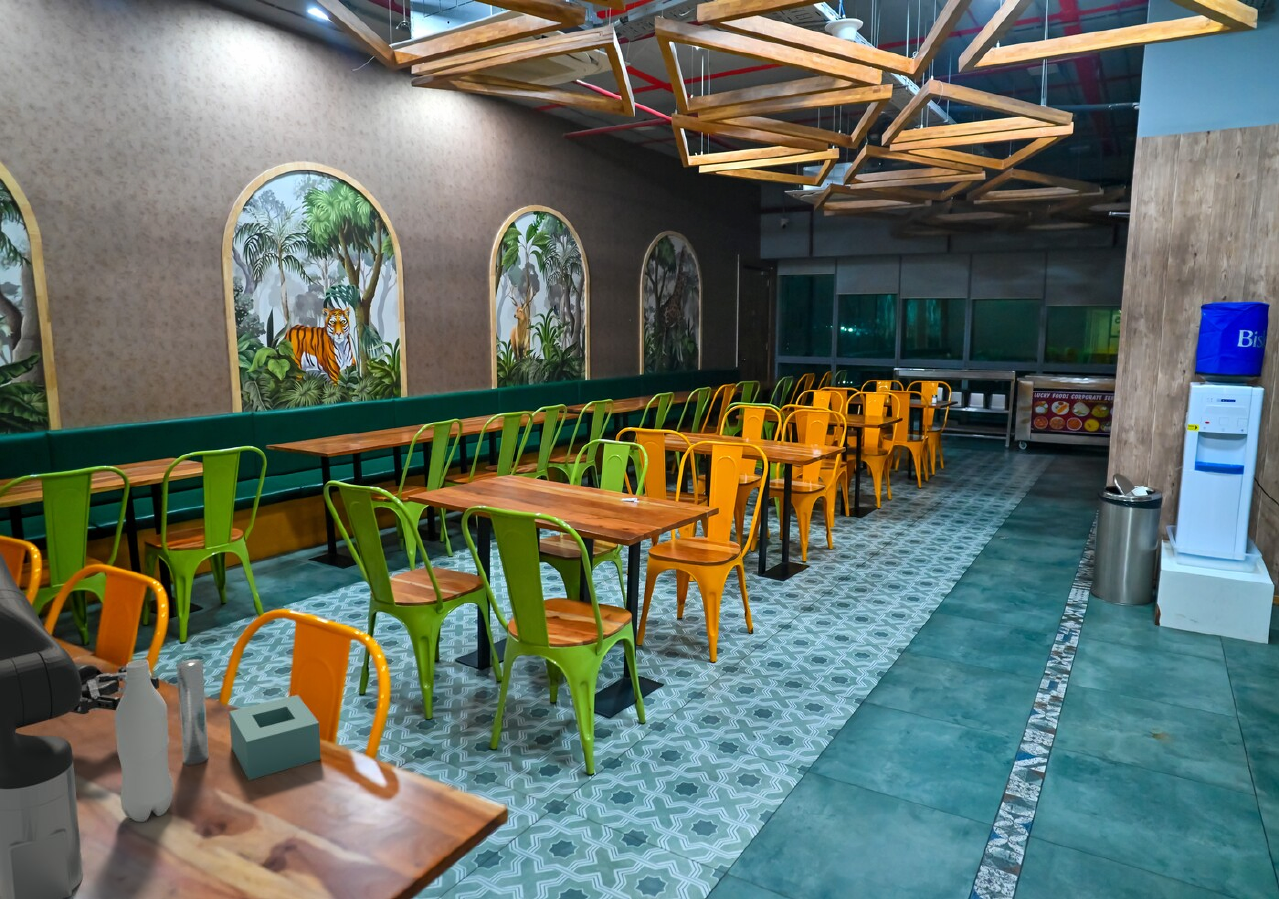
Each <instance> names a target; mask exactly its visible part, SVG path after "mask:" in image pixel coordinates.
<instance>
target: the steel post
mask: <svg viewBox="0 0 1279 899" xmlns="http://www.w3.org/2000/svg"><path fill="white" fill-rule="evenodd" d="M176 673H177V674H176V675H177V687H178V688H177V689H178V702H179V712H180V713H179V715H180V730H181V745H182V758H183V760H182V761H183V764H184V765H188V766H194V765H199V764H202V763H205V761H207V760H208V759H209V757H210V755H209V742H208V740H209V739H208V738H209V737H208V725H207V708H206V694H205V693H206V692H205V679H204V677H205V676H204V662H203V660H202V659H198V658H196V659H195V658H193V659H187V660H183V661H180V662H179V663H177V665H176Z"/></svg>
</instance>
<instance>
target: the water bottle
mask: <svg viewBox="0 0 1279 899" xmlns="http://www.w3.org/2000/svg"><path fill="white" fill-rule="evenodd" d="M149 664H150V663H149V661H148V660H147V659H139V660H132V661H129V662H128V663H127V664H126V665H125V667H126V670H127V671H126V672H127V674H126V678H125V681H126V682H127V686H126V690H125V692H123V695H122V696H121V698H120V702H119V704H118V706H117V709H116V710H115V712H114V717H113V722H114V724H115V736H116V746H117V747H116V748H117V750H116V752H117V755H118V758H119V762H120V768H121V774H122V775H121V777H122V779H121V792H120V805H121V809H122V812H123V813H124V815H125V816H126V817H127V818H129V819H132V821H135V822H137V823H139V822H140V823H142V822H146V821H147V820H148V819H149V817H150V815H151V813H152V812H153V813H154V814H155V815H156V816H157V817H160V816H162V815H164V814H165V813H166V812H168V809H169V808H170V805H171V802H172V800H173V795H174V793H173V792H174V784H173V780H172V777H171V774H170V773H171V772H170V770H169V758H168V757H169V755H168V753H169V742H170V737H169V726H168V725H169V724H168V711H169V710H168V705H167V703H166V701H165V700H164V698H163V697H162V695H161V694H160V692H159V691H158V689H155V688H154V686H153V685H152V683H151V680H150V677H153V676H152V673H151V670H150V665H149Z"/></svg>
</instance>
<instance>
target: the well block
mask: <svg viewBox="0 0 1279 899" xmlns="http://www.w3.org/2000/svg"><path fill="white" fill-rule="evenodd" d="M229 724H230V725H229V728H230V745H231V746H230V747H231V748H232V751H233V753H234V754H235V756H236V759H237V760H238V762H239V764H240V766H241V768H242V770H243V772H244V773H245V775H246V778H247V780H248V781H251V780H255V779H257V778H261V777H264V776H267V775H271V774H272V775H273V774H274V773H279V772H281V771H284V770H288V769H292V768H297V767H299V766H303V765H306V764H310V763H312V762H316V761H319V760H321V759H322V757H321V756H322V754H321V738H320V737H321V735H320V721H318V719H317V718H316V716H315V715H314V714H313V712H311V710H310V709H309V708H308V706H307V704H305V703H304V701H303V700H302V698H301V697H300V696H299V694H296V695H291V696H288V697H283V698H279V699H275V700H270V701H266V702H262V703H258V704H253V705H250V706H246V707H242V708H237V709H233V710H230V711H229Z"/></svg>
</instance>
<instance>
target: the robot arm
mask: <svg viewBox="0 0 1279 899" xmlns="http://www.w3.org/2000/svg"><path fill="white" fill-rule="evenodd" d="M126 671H127V670H126V666H119V667H118V668H117V672H116V673H109V672H107V673H103V672H102V671H101V670H100V669H99V667H97V666H95V665H92V664H85V663H84V664H83V663H79V662H77V663H76V662H75V661H74V659H73V658H72V657H71V655H70V654H69V652H68V651H67V650H66V649H65V648H64V647H63V646H62V645H61V644H60V643H59V642H58V641H57V640H56V639H55V638H54V636H52V635H51V634H50V633H49V632H48V631H47V629H46V628H45V626H44V625H43V623H42V621H41V619H40V618H39V615H38V613H37V612H36V609H35V608H34V606H33V605H32V604H31V602H30V601H29V599H28V598H27V597H26V595H25V594H24V592H23V591H22V590H21V588H20V587H19V585H18V584H17V583H16V581H15V580H14V578H13V575H12V573H11V571H10V568H9V566H8V564H7V562H6V560H5V558H4V556H3V554H2V552H1V551H0V899H66V898H69V897H71V896H73V891H74V890H75V888H76V887H78V885H79V884H80V883H81V882H82V880H83V877H84V870H83V858H82V847H81V836H80V827H79V815H78V806H77V802H78V801H77V794H76V792H77V791H76V783H75V782H76V781H75V780H76V779H75V770H74V757H73V748H72V745H71V743H70V742H69V741H68V740H67V739H65V738H63V737H60V736H56V735H55V736H53V735H30V734H29V735H27V734H23V733H18V732H16V730H18V729H21V728H25V727H28V726H32V725H35V724H39V723H42V722H45V721H48V720H49V721H50V720H54V719H56V718H58V717H62V716H64V715H66V714H68V713H73V714H74V713H75V714H79V715H87V714H89V712H90V710H93V711H99V710H101V709H102V710H110V711H116V709H117V706H118V704H119V702H120V700H121V698H120V696H112V695H114V694H121V693H123V694H124V692H125V690H126V686H127V682H126V681H125V678H126V674H127V672H126ZM150 680H151V683H152V685H153V686H154V688H155V689H156V690H158V689H160V681H159V680H160V679H159V678H158V677H155V676H151V677H150ZM120 682H122V683H123V686H122V687H120Z"/></svg>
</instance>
